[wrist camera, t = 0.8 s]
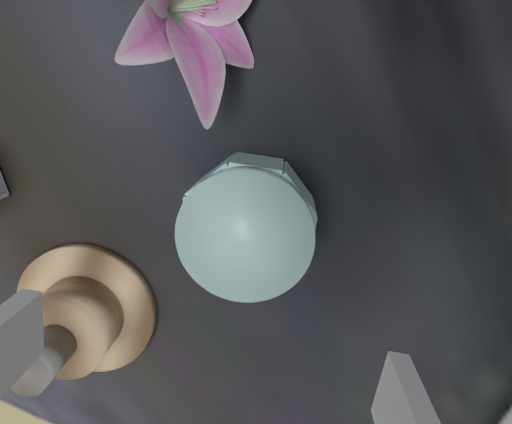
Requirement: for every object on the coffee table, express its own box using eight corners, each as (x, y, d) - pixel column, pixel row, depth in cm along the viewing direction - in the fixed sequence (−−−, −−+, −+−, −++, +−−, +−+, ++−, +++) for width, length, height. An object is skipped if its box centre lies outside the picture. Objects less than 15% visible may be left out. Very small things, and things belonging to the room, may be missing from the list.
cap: (320, 164, 29) (328, 182, 24) (299, 272, 32) (301, 312, 26) (201, 146, 30) (180, 159, 24) (190, 255, 32) (169, 290, 27)
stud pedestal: (160, 255, 33) (114, 315, 24) (152, 374, 36) (110, 462, 28) (20, 232, 33) (-74, 283, 24) (26, 352, 37) (-54, 432, 28)
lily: (206, 142, 31) (259, 145, 22) (46, 61, 25) (33, 24, 17) (268, 1, 31) (344, -50, 22) (121, -110, 25) (147, -234, 17)
